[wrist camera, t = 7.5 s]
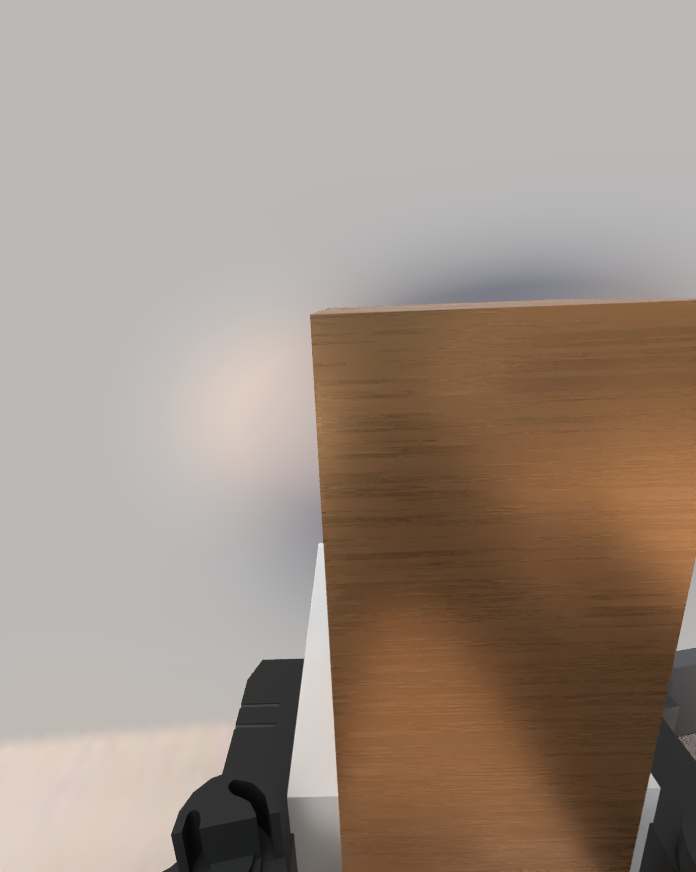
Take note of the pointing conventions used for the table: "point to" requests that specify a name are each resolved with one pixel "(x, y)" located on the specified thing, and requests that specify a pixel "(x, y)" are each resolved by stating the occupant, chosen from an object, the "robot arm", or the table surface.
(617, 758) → the brown wooden block
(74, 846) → the table surface
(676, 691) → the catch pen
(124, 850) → the table surface
